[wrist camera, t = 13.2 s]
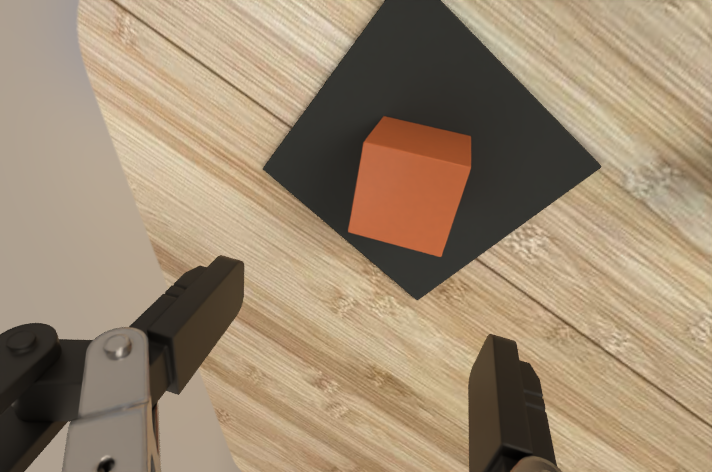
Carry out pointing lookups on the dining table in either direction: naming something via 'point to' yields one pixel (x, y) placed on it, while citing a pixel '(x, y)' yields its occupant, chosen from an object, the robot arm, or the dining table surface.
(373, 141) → the top block
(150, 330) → the robot arm
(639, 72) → the dining table surface
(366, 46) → the mat
